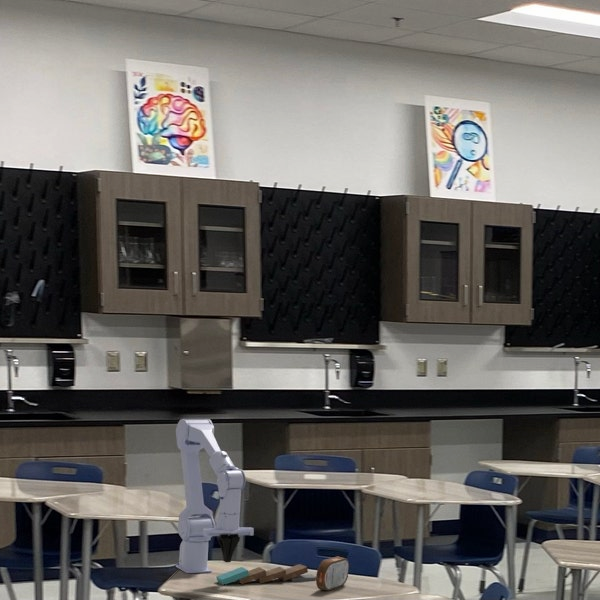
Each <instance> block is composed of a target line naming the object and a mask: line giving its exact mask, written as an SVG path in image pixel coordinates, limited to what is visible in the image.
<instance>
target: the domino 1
mask: <svg viewBox="0 0 600 600" xmlns="http://www.w3.org/2000/svg"><path fill="white" fill-rule="evenodd" d="M266 571H267V570H266V569H263V567H259V566H258V567H255V568H252V569H248V573H249V576H246V577H244V578H241V579H238V580H236V581H237V582H239V583H241V584H240V585H243V584H244V585H245V584H246V583H249V582H252V581H255V580H256V579H258V578H261V577H264V576H267V575H266ZM236 581H235V582H236ZM237 582H236V583H237ZM239 583H238V584H239Z"/></svg>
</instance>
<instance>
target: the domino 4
mask: <svg viewBox="0 0 600 600" xmlns="http://www.w3.org/2000/svg"><path fill="white" fill-rule="evenodd" d="M315 580H316V575H314V574H312V573H309V574H307V573H305V574H302V575H299V576H297V577H294V578H291V579H289V580H288V581H291V582H294V583H296V582H316V581H315Z"/></svg>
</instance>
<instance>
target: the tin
mask: <svg viewBox="0 0 600 600" xmlns="http://www.w3.org/2000/svg"><path fill="white" fill-rule="evenodd" d="M349 570H350V563H349V560H348V559H347V558H345V557H341V556H340V555H339V556H338V555H337V556H334V557H330V558H329V557H328V558H326V559H323V560H322V561H321V562H320V564H319V565H318V568H317V570H316V575H315V576H316V581H315V582H316V583H315V584H316V587H317V588H318V589H319V590H323V591H327V592H328V591H332V590H334V589H339V588H342V587H343V586H344V585H345V584H346V583H347V580H348V577H349ZM341 586H342V587H341Z"/></svg>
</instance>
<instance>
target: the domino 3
mask: <svg viewBox="0 0 600 600" xmlns="http://www.w3.org/2000/svg"><path fill="white" fill-rule="evenodd" d="M284 569H285V570H286V576H283V577H280V578H277V579H278V580H280V581H283V582H286V581H290V580H289V579H291V578H294V577H297V576H299V575H305V574H307V573H309V571H308V570H309V569H308V566H306V565H303V564H301V563H299V564H295V565H292V566H291V567H288V568H284Z"/></svg>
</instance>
